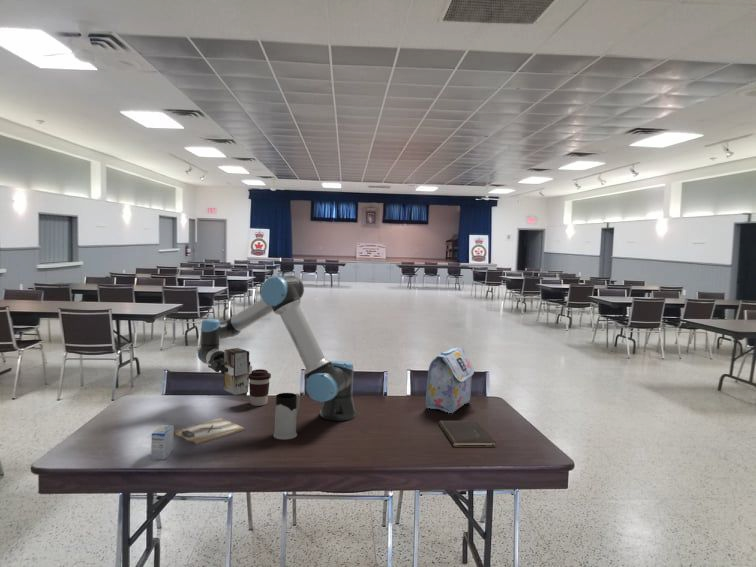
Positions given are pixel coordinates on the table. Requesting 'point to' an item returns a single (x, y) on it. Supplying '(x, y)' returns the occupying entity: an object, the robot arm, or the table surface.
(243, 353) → the coffee box
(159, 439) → the medicine box
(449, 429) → the hardcover book
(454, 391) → the lunch bag
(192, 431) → the clipboard
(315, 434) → the table surface
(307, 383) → the robot arm
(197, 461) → the table surface
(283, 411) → the grey mug
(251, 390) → the coffee cup
